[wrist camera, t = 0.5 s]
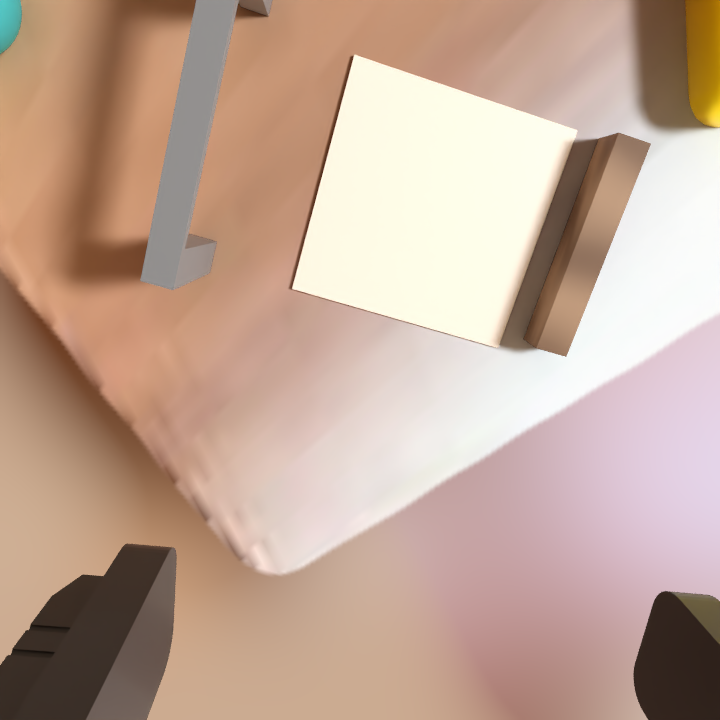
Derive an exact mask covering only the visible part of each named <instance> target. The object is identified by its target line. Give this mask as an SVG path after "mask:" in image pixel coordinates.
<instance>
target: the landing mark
mask: <svg viewBox="0 0 720 720" xmlns="http://www.w3.org/2000/svg"><path fill="white" fill-rule="evenodd" d="M577 131H578V130H575V129H572V128H569V127H566V126H563V125H560V124H557V123H554V122H551V121H548V120H545V119H542V118H539V117H536V116H534V115H531V114H528V113H525V112H522V111H519V110H516V109H513V108H510V107H507V106H504V105H501V104H498V103H495V102H492V101H489V100H486V99H483V98H481V97H478V96H475V95H472V94H469V93H466V92H463V91H460V90H457V89H454V88H451V87H448V86H445V85H442V84H439V83H436V82H433V81H430V80H427V79H425V78H422V77H419V76H416V75H413V74H410V73H407V72H404V71H401V70H398V69H395V68H392V67H389V66H386V65H383V64H380V63H377V62H374V61H371V60H369V59H366V58H363V57H360V56H357V55H354V58H353V62H352V66H351V69H350V73H349V77H348V81H347V84H346V88H345V92H344V96H343V99H342V103H341V107H340V111H339V114H338V118H337V122H336V126H335V129H334V133H333V137H332V141H331V144H330V148H329V152H328V156H327V160H326V163H325V167H324V171H323V175H322V178H321V182H320V186H319V190H318V193H317V197H316V201H315V205H314V208H313V212H312V216H311V220H310V223H309V227H308V231H307V235H306V238H305V242H304V246H303V250H302V253H301V257H300V261H299V265H298V268H297V272H296V276H295V280H294V283H293V287H292V289H294V290H298V291H301V292H305V293H308V294H312V295H315V296H319V297H322V298H325V299H329V300H332V301H336V302H339V303H343V304H346V305H350V306H353V307H357V308H360V309H364V310H367V311H371V312H374V313H378V314H381V315H385V316H388V317H392V318H395V319H399V320H402V321H406V322H409V323H412V324H416V325H419V326H423V327H426V328H430V329H433V330H437V331H440V332H444V333H447V334H451V335H454V336H458V337H461V338H465V339H468V340H472V341H475V342H479V343H482V344H486V345H489V346H493V347H496V348H498V347H499V344H500V341H501V339H502V336H503V333H504V330H505V328H506V325H507V322H508V319H509V317H510V314H511V311H512V309H513V306H514V303H515V300H516V298H517V295H518V292H519V289H520V287H521V284H522V281H523V278H524V276H525V273H526V270H527V268H528V265H529V262H530V259H531V257H532V254H533V251H534V248H535V246H536V243H537V240H538V237H539V235H540V232H541V229H542V226H543V224H544V221H545V218H546V216H547V213H548V210H549V207H550V205H551V202H552V199H553V196H554V194H555V191H556V188H557V185H558V183H559V180H560V177H561V174H562V172H563V169H564V166H565V164H566V161H567V158H568V155H569V153H570V150H571V147H572V144H573V142H574V139H575V136H576V133H577Z"/></svg>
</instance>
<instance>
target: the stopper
mask: <svg viewBox="0 0 720 720" xmlns="http://www.w3.org/2000/svg"><path fill="white" fill-rule="evenodd" d="M650 145H651V144H650V143H647V142H644V141H641V140H639V139H636V138H633V137H630V136H627V135H624V134H621V133H617V134H613V135H610V136H606V137H603V138H599V139H598V142H597V145H596V147H595V150H594V153H593V155H592V158H591V161H590V163H589V166H588V169H587V171H586V174H585V177H584V179H583V182H582V185H581V187H580V190H579V193H578V195H577V198H576V201H575V203H574V206H573V209H572V211H571V214H570V217H569V219H568V222H567V225H566V227H565V230H564V233H563V235H562V238H561V241H560V243H559V246H558V249H557V251H556V254H555V257H554V259H553V262H552V265H551V267H550V270H549V273H548V275H547V278H546V281H545V283H544V286H543V289H542V291H541V294H540V297H539V299H538V302H537V305H536V307H535V310H534V312H533V315H532V318H531V320H530V323H529V326H528V328H527V331H526V334H525V336H524V340H525V341H527V342H528V343H530V344H531V345H533V346H534V347H536V348H538V349H541V350H545V351H548V352H552V353H555V354H559V355H562V356H565V357H566V356H567V353H568V351H569V348H570V346H571V343H572V341H573V338H574V336H575V333H576V331H577V328H578V326H579V323H580V321H581V318H582V316H583V313H584V311H585V308H586V306H587V303H588V301H589V298H590V296H591V293H592V291H593V288H594V285H595V283H596V280H597V278H598V275H599V273H600V270H601V268H602V265H603V263H604V260H605V258H606V255H607V253H608V250H609V248H610V245H611V243H612V240H613V238H614V235H615V233H616V230H617V228H618V225H619V223H620V220H621V218H622V215H623V213H624V210H625V208H626V205H627V202H628V200H629V197H630V195H631V192H632V190H633V187H634V185H635V182H636V180H637V177H638V175H639V172H640V170H641V167H642V165H643V162H644V160H645V157H646V155H647V152H648V150H649V147H650Z"/></svg>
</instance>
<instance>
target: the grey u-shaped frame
mask: <svg viewBox="0 0 720 720" xmlns="http://www.w3.org/2000/svg"><path fill="white" fill-rule="evenodd" d="M238 2H239V4H240V6H241V7H243V8H245V9H248V10H251V11H254V12H257V13H260V14H263V15H266V16H269V12H270V8H271V3H272V0H196V4H195V9H194V14H193V19H192V24H191V29H190V34H189V39H188V44H187V49H186V54H185V59H184V64H183V69H182V74H181V79H180V84H179V89H178V94H177V99H176V104H175V109H174V114H173V119H172V124H171V129H170V134H169V139H168V144H167V149H166V154H165V159H164V164H163V169H162V174H161V179H160V184H159V189H158V194H157V199H156V204H155V209H154V214H153V219H152V224H151V229H150V234H149V239H148V244H147V249H146V255H145V260H144V265H143V270H142V275H141V280H140V281H142V282H146V283H149V284H153V285H157V286H160V287H164V288H167V289H171V290H174V289H177V288H179V287H181V286H183V285H185V284H187V283H189V282H192V281H194V280H196V279H198V278H200V277H202V276H204V275H207V274H209V273H210V270H211V265H212V261H213V257H214V252H215V248H216V244H217V242H216V241H213V240H209V239H206V238H202V237H199V236H195V235H192V234H190V235H188V233H189V229H190V224H191V219H192V215H193V210H194V205H195V201H196V196H197V192H198V187H199V182H200V178H201V173H202V168H203V164H204V159H205V155H206V150H207V145H208V141H209V136H210V131H211V127H212V122H213V118H214V113H215V108H216V104H217V99H218V94H219V90H220V85H221V80H222V76H223V71H224V67H225V62H226V57H227V53H228V48H229V43H230V39H231V34H232V30H233V25H234V20H235V16H236V11H237V6H238Z"/></svg>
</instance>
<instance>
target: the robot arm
mask: <svg viewBox="0 0 720 720" xmlns="http://www.w3.org/2000/svg"><path fill="white" fill-rule="evenodd" d="M175 580H176V550H175V548H171V547H160V546H149V545H137V544H125V545H124V546H123V547H122V549H121V550H120V552H119V553H118V555H117V556H116V558H115V559H114V561H113V563H112V564H111V566H110V567H109V569H108V571H107V572H106V574H105V575H104V576H94V575H93V576H92V575H81V576H80V577H79V578H77V579H76V580H74V581H73V582H72V583H70V584H69V585H67V586H66V587H64V588H63V589H61V590H60V591H59V592H57V593H56V594H54V595H53V596H52V597H51V598H50V599H49V601H48V602H47V603H46V604H45V606H44V607H43V609H42V610H41V611H40V613H39V614H38V615H37V617H36V618H35V619H34V621H33V622H32V623H31V626H30V629H29V630H27V631H25V633H24V634H23V635H22V637H21V638H20V639H19V641H18V642H17V643H16V645H15V646H14V648H13V650H12V653H11V655H8V656H7V657H6V658H5V660H4V661H3V662H2V664H1V665H0V720H147V717H148V714H149V712H150V709H151V706H152V704H153V701H154V698H155V695H156V693H157V690H158V688H159V685H160V682H161V680H162V677H163V674H164V671H165V668H166V665H167V661H168V657H169V653H170V647H171V642H172V635H173V623H174V601H175ZM634 686H635V691H636V696H637V699H638V702H639V704H640V706H641V708H642V710H643V712H644V713H645V715H646V717H647V718H648V720H720V601H719V600H717V599H716V598H715V597H713V596H710V595H703V594H691V593H679V592H668V591H665V592H661V593H660V594H659V595H658V596H657V597H656V599H655V600H654V603H653V606H652V609H651V613H650V616H649V619H648V623H647V626H646V629H645V633H644V636H643V639H642V643H641V646H640V649H639V652H638V656H637V659H636V662H635V667H634Z"/></svg>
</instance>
